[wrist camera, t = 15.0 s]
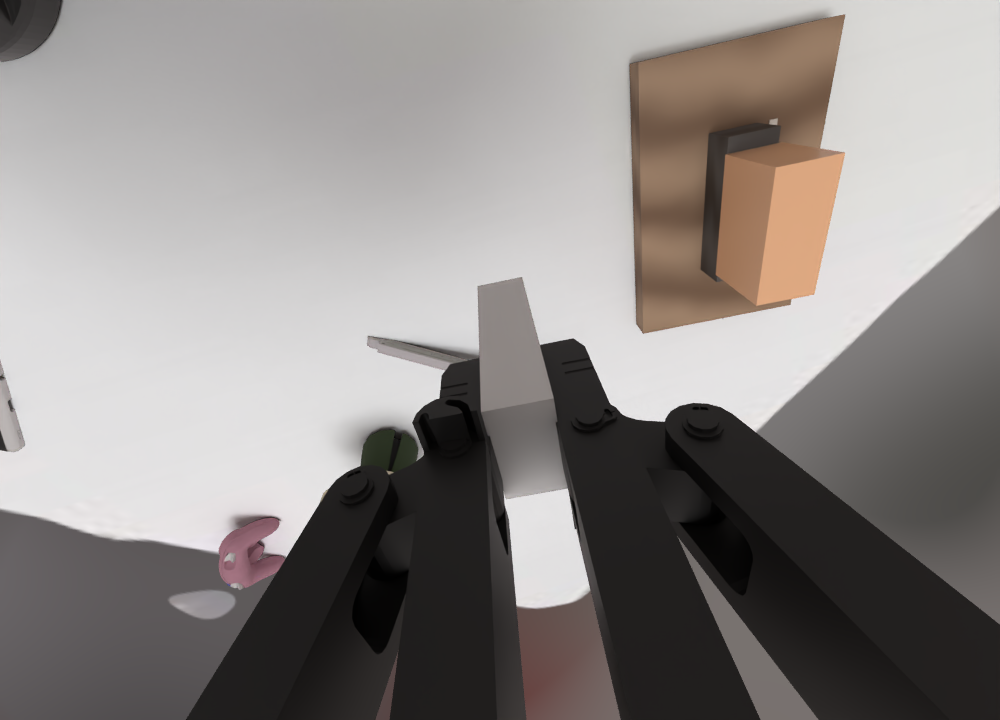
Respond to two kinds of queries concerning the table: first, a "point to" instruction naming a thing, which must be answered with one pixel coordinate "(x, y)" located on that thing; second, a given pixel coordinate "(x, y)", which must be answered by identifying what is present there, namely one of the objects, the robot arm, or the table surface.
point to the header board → (682, 151)
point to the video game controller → (248, 554)
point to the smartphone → (8, 421)
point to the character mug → (388, 451)
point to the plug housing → (776, 219)
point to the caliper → (413, 353)
